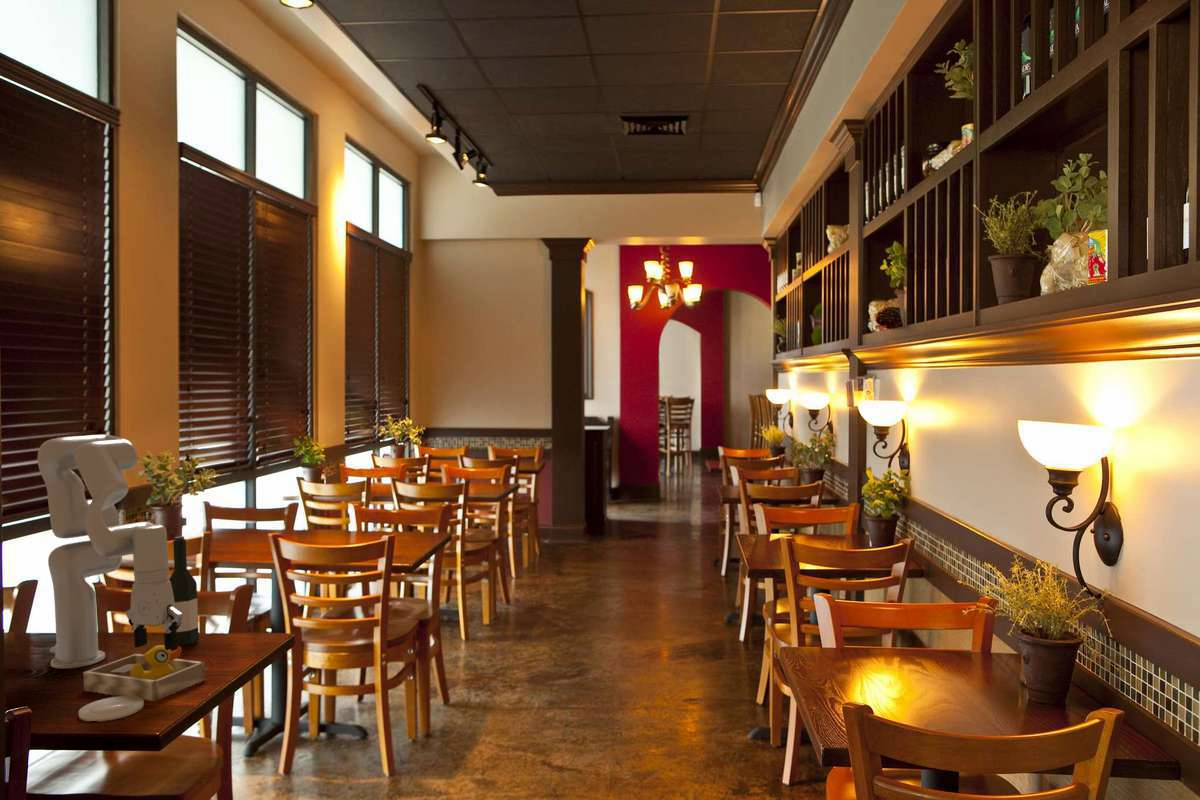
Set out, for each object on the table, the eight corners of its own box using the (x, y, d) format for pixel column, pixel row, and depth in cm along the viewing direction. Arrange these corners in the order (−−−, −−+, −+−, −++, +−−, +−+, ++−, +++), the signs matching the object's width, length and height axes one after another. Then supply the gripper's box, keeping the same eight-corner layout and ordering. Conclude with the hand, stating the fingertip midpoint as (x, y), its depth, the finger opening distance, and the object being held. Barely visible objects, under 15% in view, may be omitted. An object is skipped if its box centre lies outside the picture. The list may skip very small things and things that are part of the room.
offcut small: (110, 679, 224) (110, 671, 224) (128, 671, 229) (128, 663, 229) (124, 680, 223) (124, 672, 223) (142, 672, 229) (141, 664, 228)
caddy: (84, 690, 221) (83, 672, 221) (136, 671, 235) (135, 653, 235) (155, 701, 213) (154, 682, 212) (205, 680, 227) (204, 662, 226)
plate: (65, 717, 204) (64, 712, 204) (115, 697, 216) (115, 692, 216) (107, 724, 199) (107, 719, 199) (156, 703, 211) (156, 698, 211)
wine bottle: (174, 639, 263) (169, 535, 262) (204, 637, 264) (199, 533, 263) (162, 647, 255) (158, 540, 254) (193, 646, 256) (189, 539, 254)
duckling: (181, 679, 228) (179, 639, 228) (184, 685, 223) (182, 644, 223) (130, 688, 222) (128, 647, 222) (131, 694, 217) (130, 653, 217)
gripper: (112, 578, 221) (116, 649, 222) (166, 581, 215) (170, 654, 215) (138, 572, 228) (142, 640, 228) (191, 574, 222) (195, 644, 222)
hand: (156, 647), depth 222 cm, fingers open, 9 cm apart
